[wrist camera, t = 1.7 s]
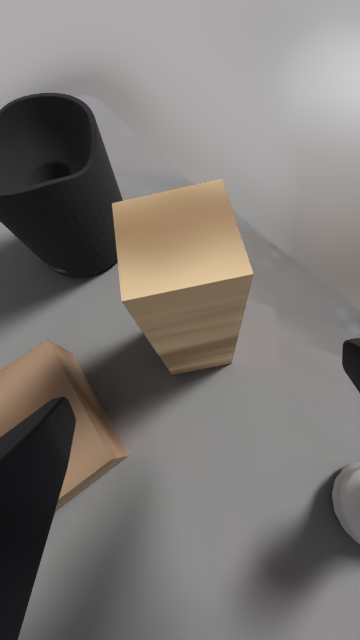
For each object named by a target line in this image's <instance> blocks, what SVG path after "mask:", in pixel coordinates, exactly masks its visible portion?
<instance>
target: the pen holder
mask: <svg viewBox="0 0 360 640" xmlns="http://www.w3.org/2000/svg"><path fill="white" fill-rule="evenodd" d="M120 201H123V200H122V197H121V194H120V191H119V188H118V185H117V182H116V179H115V176H114V173H113V170H112V167H111V164H110V161H109V158H108V155H107V152H106V149H105V147H104V144H103V141H102V138H101V135H100V132H99V129H98V126H97V123H96V120H95V117H94V115H93V113H92V111H91V109H90V108H89V107H88V105H86V104H85V103H84V102H83V101H81V100H79V99H78V98H75V97H73V96H70V95H66V94H59V93H40V94H33V95H29V96H24V97H21V98H18V99H16V100H14V101H12V102H10V103H8V104H7V105H5V106H4V107H3V108H2V109H1V110H0V222H1V223H3V224H4V225H5V226H6V227H7V228H8V229H9V230H10V231H11V232H12V233H13V234H14V235H15V236H17V237H18V238H19V239H20V240H21V241H22V242H23V243H24V244H25V245H26V246H27V247H28V248H29V249H30V250H32V251H33V252H34V253H35V254H36V255H37V256H38V257H39V258H40V259H42V260H43V261H44V262H45V263H46V264H47V265H48V266H49V267H51V268H52V269H53V270H55V271H56V272H58V273H60V274H62V275H65V276H70V277H86V276H91V275H95V274H98V273H100V272H103V271H104V270H106V269H108V268H109V267H111V266H112V265H114V264H115V263H116V262H117V261H118V259H117V249H116V239H115V229H114V219H113V209H112V203H115V202H120Z"/></svg>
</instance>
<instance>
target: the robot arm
mask: <svg viewBox="0 0 360 640" xmlns="http://www.w3.org/2000/svg"><path fill="white" fill-rule="evenodd" d="M342 365H343V368H344V370H345V372H346V374H347V375H348V376H349V378H350V379H351V381H352V382H353V384H354V385H355V387H356V388H357V390H358V391H359V392H360V338H355V339H350V340H346V341H345V342H344V343H343V353H342ZM75 425H76V417H75V414H74V412H73V410H72V407H71V405H70V403H69V400H68V399H67V398H66V397H64V396H63V397H57V398H53V399H51V400H50V401H48V402H47V403H46V404H44V405H43V406H42V407H40V408H39V409H38V410H36V411H35V412H34V413H32V414H31V415H30V416H28V417H27V418H25V419H24V420H23V421H21V422H20V423H19V424H17V425H16V426H15V427H13V428H12V429H11V430H9V431H8V432H7V433H5V434H4V435H3V436H1V437H0V640H18V637H19V633H20V630H21V626H22V623H23V620H24V616H25V613H26V609H27V606H28V602H29V599H30V596H31V592H32V589H33V585H34V582H35V578H36V575H37V572H38V568H39V565H40V561H41V558H42V554H43V551H44V548H45V544H46V541H47V537H48V534H49V530H50V527H51V524H52V520H53V517H54V513H55V510H56V506H57V503H58V499H59V496H60V493H61V489H62V486H63V482H64V479H65V475H66V472H67V468H68V463H69V458H70V453H71V447H72V442H73V436H74V431H75Z"/></svg>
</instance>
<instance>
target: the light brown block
mask: <svg viewBox="0 0 360 640" xmlns="http://www.w3.org/2000/svg"><path fill="white" fill-rule="evenodd" d="M63 396H64V397H66V398H67V399H68V400H69V403H70V405H71V407H72V410H73V412H74V414H75V417H76V425H75V431H74V436H73V442H72V447H71V453H70V458H69V463H68V468H67V472H66V475H65V479H64V482H63V486H62V489H61V493H60V496H59V499H58V503H57V506H56V510H55V511H57V510H58V509H59V508H61V507H62V506H63V505H65V504H66V503H67V502H68V501H70V500H71V499H72V498H74V497H75V496H76V495H78V494H79V493H80V492H82V491H83V490H84V489H86V488H87V487H88V486H90V485H91V484H92V483H93V482H95V481H96V480H97V479H99V478H100V477H101V476H103V475H104V474H105V473H107V472H108V471H109V470H111V469H112V468H113V467H115V466H116V465H117V464H119V463H120V462H121V461H122V460H124V459H125V458H126V457H128V456H129V454H128V452H127V450H126V449H125V447H124V445H123V443H122V441H121V440H120V438H119V436H118V434H117V432H116V431H115V429H114V427H113V425H112V423H111V422H110V420H109V418H108V416H107V414H106V413H105V411H104V409H103V407H102V406H101V404H100V402H99V400H98V398H97V397H96V395H95V393H94V391H93V389H92V388H91V386H90V384H89V382H88V380H87V379H86V377H85V375H84V373H83V371H82V370H81V368H80V366H79V364H78V362H77V361H76V359H75V357H74V355H73V354H72V353H71V352H69V351H67V350H65V349H64V348H62V347H60V346H58V345H57V344H55V343H53V342H52V341H50V340H46V341H44V342H43V343H41V344H40V345H38V346H37V347H35V348H34V349H32V350H31V351H29V352H28V353H26V354H25V355H23V356H22V357H20V358H19V359H17V360H16V361H14V362H13V363H11V364H10V365H8V366H7V367H5V368H4V369H2V370H0V437H1V436H3V435H4V434H5V433H7V432H8V431H9V430H11V429H12V428H13V427H15V426H16V425H17V424H19V423H20V422H21V421H23V420H24V419H25V418H27V417H28V416H30V415H31V414H32V413H34V412H35V411H36V410H38V409H39V408H40V407H42V406H43V405H44V404H46V403H47V402H48V401H50V400H51V399H53V398H57V397H63Z"/></svg>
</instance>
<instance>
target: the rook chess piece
mask: <svg viewBox="0 0 360 640" xmlns="http://www.w3.org/2000/svg"><path fill="white" fill-rule="evenodd" d="M332 499H333V505H334V511H335V514H336V516H337V517H338V519H339V521H340V523H341V525H342V527H343V529H344V530H345V531H346V532H347V533H348V534H349V535H350V536H351V537H352V538H353V539H354V540H355V541H356V542H357V543H359V544H360V462H356V463H354V464H352V465H349V466H347V467H345V468H343V470H342V471H341V472H340V473H339V475H338V476H337V477H336V479H335V482H334V486H333V491H332Z"/></svg>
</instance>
